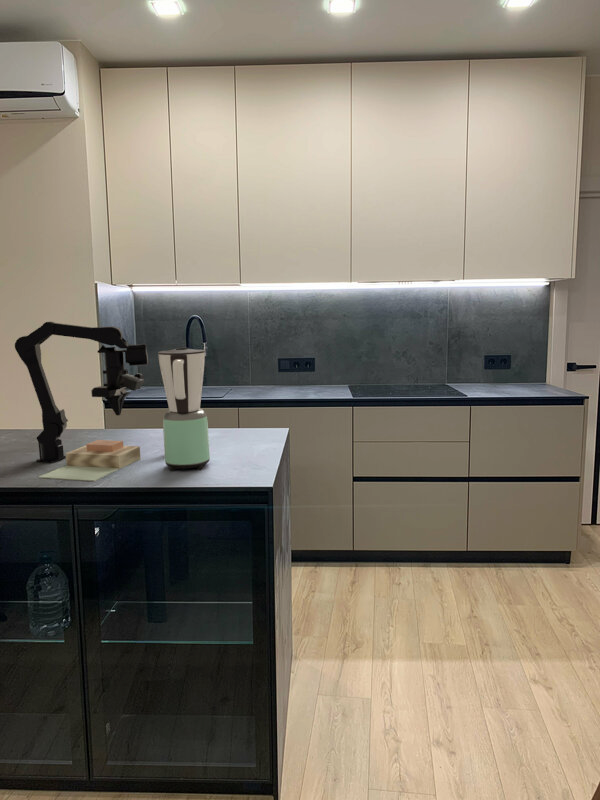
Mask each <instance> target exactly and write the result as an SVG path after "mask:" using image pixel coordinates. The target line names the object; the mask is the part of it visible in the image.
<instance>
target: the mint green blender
mask: <svg viewBox="0 0 600 800" xmlns="http://www.w3.org/2000/svg"><path fill="white" fill-rule="evenodd" d="M205 353H206V350H204V349H194V348H193V349H192V348H188V347H175V348H174V349H170V350H161V351H158V352H157V355H158V362H159V363H158V364H159V368H160V373H161V378H162V383H163V387H164V392H165V398H166V401H167V404H168V405H167V406H168V409H169V410H167V411H166V412H164V416H163V417H162V419H163V421H162V427H163V432H162V433H163V448H164V449H163V451H164V462H165V465H166V466H167V467H168V468H169V471H170V472H175V471H177V470H178V469H180V470H181V469H193V468H195V469H196V470H197V471H200V470H201V471H202V470H204V466H205V465H207V464H208V463H209V462H210V459H211V455H210V443H209V441H210V440H209V438H210V437H209V423H208V417H207V413H206V412H205V410H204V409H203V408H201V401H202V393H203V382H204V381H203V380H204V373H205V359H206V358H205V355H206V354H205Z"/></svg>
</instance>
